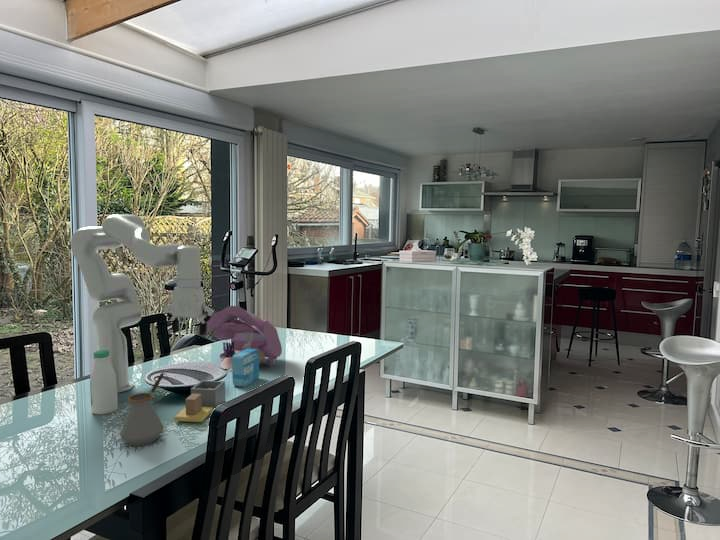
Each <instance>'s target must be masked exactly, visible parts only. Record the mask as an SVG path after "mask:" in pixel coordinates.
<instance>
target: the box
mask: <svg viewBox="0 0 720 540" xmlns="http://www.w3.org/2000/svg"><path fill="white" fill-rule="evenodd" d="M191 394H201V399H202V407H213V409H214V408H216V407H217V406H218V405H220V404H222V403H223V404H224V403H225V402H226V381H225V380H199V382H197V384H196V383H195V385H194V386H192V387H191V388H190V395H191ZM223 404H222V405H223Z"/></svg>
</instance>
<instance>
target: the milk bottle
mask: <svg viewBox="0 0 720 540" xmlns="http://www.w3.org/2000/svg"><path fill="white" fill-rule="evenodd" d="M109 357H110V356H109V351H108V350H99V351H98V350H96V351H94V352H93V360H94V364H93V368H92V369H91V372H90V374H89V375H90V376H89V387H90V403H91V406H90V407H91V412H92V414H94V415H106V414H111V413H114V412H116V411H117V410H118V407H119V404H118V393H117V384H116V374H115V371H114V369H113V367H112V365H111V364H110V361H109Z"/></svg>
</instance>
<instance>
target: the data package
mask: <svg viewBox="0 0 720 540" xmlns="http://www.w3.org/2000/svg"><path fill="white" fill-rule="evenodd" d="M231 373H232V377H231V378H232V385H233V386H234V387H239V388H240V387H242V388H245V387H247V386H249V385H250V384H252V383H254V382H255V381H257V380H259V378H260V363H259V351H258V350H257V349H248V348H247V349H245V350H243V351H241V352H239V353H237V354H235V355H233V357H232V371H231Z"/></svg>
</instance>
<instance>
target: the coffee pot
mask: <svg viewBox="0 0 720 540" xmlns="http://www.w3.org/2000/svg"><path fill="white" fill-rule="evenodd" d="M164 376H166V377H164ZM167 377H168V375H167V374H166V373H164V372H161V373H160V374H159V376H158V377H157V380H155V382H154V384H153V385H152V388H151V389H150V392H149V393H148V392H141V393H135V394H132V395H129V396H128V398H127V400H128V402H129V404H130V407H129V409H128V412H127V415H126V417H125V419H124V422H123V425H122V427H121V429H120V433H119V436H120V438H121V439H122V440H123V441H124V442H126V444H128V443H129V444H128V445H130V446H135V447H136V446H137V447H139V446H146V445H149V444H151V443H154V442H155V441H156V440H157V439H158V438H159V437H160V436H161V434H162V433H163V431H164V425H163V423H162V421H161V420H160V418H159V416H158V414H157V412H156V409H154V406H153V404H152V403H151V401H152V399H153V394H154V392H155V391H156V389H157V388H158V387H159V385H160V383H161V381H162V380H163V379H166V378H167Z"/></svg>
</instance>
